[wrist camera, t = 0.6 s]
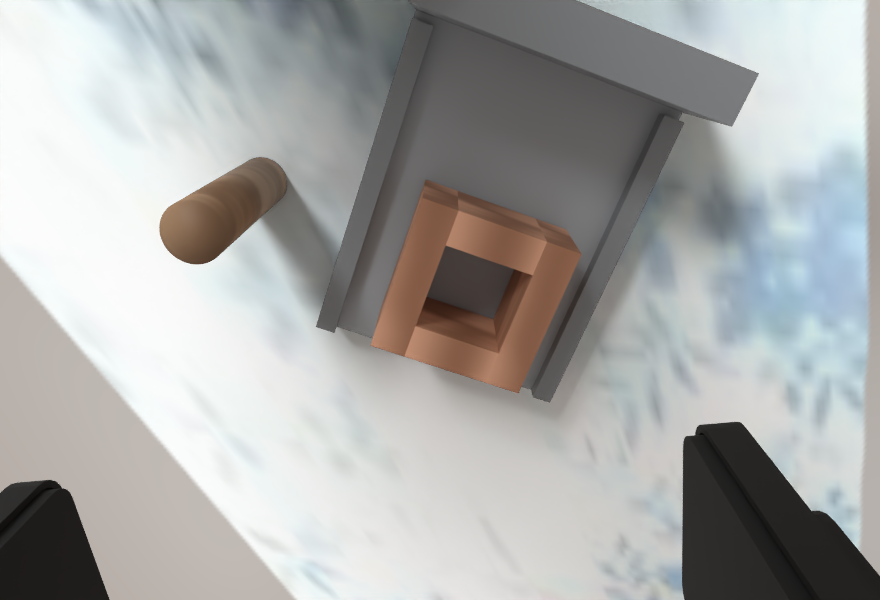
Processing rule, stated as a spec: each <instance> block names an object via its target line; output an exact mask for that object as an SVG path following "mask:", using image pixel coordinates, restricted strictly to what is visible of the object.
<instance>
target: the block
mask: <svg viewBox="0 0 880 600" xmlns="http://www.w3.org/2000/svg"><path fill="white" fill-rule="evenodd" d="M445 246H449V247H452V248H455V249H458V250H460V251H463V252H466V253H469V254H472V255H475V256H478V257H481V258H484V259H487V260H489V261H492V262H495V263H498V264H501V265H504V266H507V267H510V268H513V269H514V271H513V273H512V276H511V278H510V280H509V283H508V285H507V288H506V290H505V292H504V295H503V297H502V300H501V302H500V304H499V307H498V309H497V311H496V314H495V316H494V319H491V318H488V317H485V316H482V315H479V314H476V313H474V312H471V311H468V310H465V309H462V308H459V307H456V306H453V305H450V304H447V303H444V302H441V301H438V300H435V299H432V298H429V297H427V294H428V291H429V289H430V286H431V283H432V281H433V278H434V275H435V273H436V270H437V267H438V265H439V262H440V259H441V257H442V254H443V251H444V249H445ZM581 255H582V254H581V252H580V251H579V249H578V247H577V246H576V244H575V243H574V241H573V240H572V238H571V236H570V235H569V233H568V232H567V230H566V229H563V228H561V227H558V226H555V225H552V224H549V223H547V222H544V221H541V220H538V219H535V218H533V217H530V216H527V215H524V214H521V213H519V212H516V211H513V210H510V209H507V208H505V207H502V206H499V205H496V204H493V203H491V202H488V201H485V200H482V199H479V198H477V197H474V196H471V195H468V194H465V193H463V192H460V191H457V190H454V189H451V188H448V187H446V186H443V185H440V184H437V183H434V182H432V181H429V180H425V183H424V186H423V189H422V191H421V194H420V197H419V200H418V203H417V206H416V209H415V212H414V214H413V217H412V220H411V223H410V226H409V229H408V232H407V235H406V237H405V240H404V243H403V246H402V249H401V252H400V255H399V257H398V260H397V263H396V266H395V269H394V272H393V275H392V278H391V280H390V283H389V286H388V289H387V292H386V295H385V298H384V301H383V303H382V306H381V309H380V312H379V316H378V320H377V324H376V327H375V331H374V335H373V339H372V343H371V346H373V347H377V348H380V349H383V350H386V351H389V352H392V353H395V354H398V355H401V356H404V357H407V358H411V359H414V360H417V361H420V362H423V363H426V364H429V365H432V366H435V367H438V368H441V369H445V370H448V371H451V372H454V373H457V374H460V375H463V376H466V377H469V378H472V379H475V380H479V381H482V382H485V383H488V384H491V385H494V386H497V387H500V388H503V389H506V390H510V391H513V392H516V393H519V391H520V388H521V386H522V384H523V382H524V380H525V377H526V375H527V373H528V371H529V369H530V366H531V364H532V362H533V360H534V358H535V355H536V353H537V351H538V349H539V347H540V345H541V342H542V340H543V338H544V336H545V334H546V331H547V329H548V327H549V325H550V323H551V320H552V318H553V316H554V314H555V312H556V309H557V307H558V305H559V303H560V301H561V298H562V296H563V294H564V292H565V290H566V288H567V285H568V283H569V281H570V279H571V277H572V274H573V272H574V270H575V268H576V266H577V263H578V261H579V259H580V257H581Z"/></svg>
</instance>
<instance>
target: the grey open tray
mask: <svg viewBox="0 0 880 600" xmlns="http://www.w3.org/2000/svg"><path fill="white" fill-rule="evenodd" d="M409 2H410V3H411V5H412V6H413V7H414V8H415V9H416V11H415V15H414V18H412V20H411V24H410V27H409V30H408V33H407V36H406V40H405V43H404V46H403V49H402V52H401V56H400V59H399V62H398V65H397V68H396V72H395V75H394V78H393V81H392V84H391V88H390V91H389V94H388V97H387V101H386V104H385V107H384V110H383V113H382V117H381V120H380V123H379V126H378V129H377V133H376V136H375V139H374V142H373V145H372V149H371V152H370V155H369V158H368V161H367V165H366V168H365V171H364V174H363V178H362V181H361V184H360V187H359V190H358V194H357V197H356V200H355V203H354V206H353V210H352V213H351V216H350V219H349V222H348V226H347V229H346V232H345V235H344V238H343V242H342V245H341V248H340V251H339V255H338V258H337V261H336V264H335V267H334V271H333V274H332V277H331V280H330V283H329V287H328V290H327V293H326V296H325V299H324V303H323V306H322V309H321V312H320V315H319V319H318V322H317V325H316V327H318V328H321V329H324V330H327V331H330V332H333V333H334V332H335V329H336V327H340V328H343V329H346V330H349V331H352V332H355V333H359V334H362V335H365V336H368V337H371V338H373V335H374V331H375V327H376V324H377V320H378V316H379V312H380V309H381V306H382V303H383V301H384V298H385V295H386V292H387V289H388V286H389V283H390V280H391V278H392V275H393V272H394V269H395V266H396V263H397V260H398V257H399V255H400V252H401V249H402V246H403V243H404V240H405V237H406V235H407V232H408V229H409V226H410V223H411V220H412V217H413V214H414V212H415V209H416V206H417V203H418V200H419V197H420V194H421V191H422V189H423V186H424V183H425V180H429V181H432V182H434V183H437V184H440V185H443V186H446V187H448V188H451V189H454V190H457V191H460V192H463V193H465V194H468V195H471V196H474V197H477V198H479V199H482V200H485V201H488V202H491V203H493V204H496V205H499V206H502V207H505V208H507V209H510V210H513V211H516V212H519V213H521V214H524V215H527V216H530V217H533V218H535V219H538V220H541V221H544V222H547V223H549V224H552V225H555V226H558V227H561V228H563V229H566V230H567V232H568V233H569V235H570V236H571V238H572V240H573V241H574V243H575V244H576V246H577V247H578V249H579V251H580V252H581V254H582V255H581V257H580V259H579V261H578V263H577V266H576V268H575V270H574V272H573V274H572V277H571V279H570V281H569V283H568V285H567V288H566V290H565V292H564V294H563V296H562V298H561V301H560V303H559V305H558V307H557V309H556V312H555V314H554V316H553V318H552V320H551V323H550V325H549V327H548V329H547V331H546V334H545V336H544V338H543V340H542V342H541V345H540V347H539V349H538V351H537V353H536V355H535V358H534V360H533V362H532V364H531V366H530V369H529V371H528V373H527V375H526V377H525V380H524V382H523V384H522V387H525V388H528V389H531V391H532V395H533V397H534V398H537V399H540V400H543V401H547V402H550V401H551V399H552V397H553V395H554V393H555V391H556V389H557V387H558V385H559V383H560V380H561V378H562V376H563V374H564V372H565V370H566V368H567V366H568V364H569V362H570V360H571V357H572V355H573V353H574V351H575V349H576V347H577V345H578V343H579V341H580V339H581V337H582V335H583V332H584V330H585V328H586V326H587V324H588V322H589V320H590V318H591V316H592V314H593V312H594V310H595V307H596V305H597V303H598V301H599V299H600V297H601V295H602V293H603V291H604V289H605V287H606V285H607V282H608V280H609V278H610V276H611V274H612V272H613V270H614V268H615V266H616V264H617V262H618V259H619V257H620V255H621V253H622V251H623V249H624V247H625V245H626V243H627V241H628V239H629V237H630V234H631V232H632V230H633V228H634V226H635V224H636V222H637V220H638V218H639V216H640V214H641V212H642V209H643V207H644V205H645V203H646V201H647V199H648V197H649V195H650V193H651V191H652V189H653V186H654V184H655V182H656V180H657V178H658V176H659V174H660V172H661V170H662V168H663V166H664V164H665V161H666V159H667V157H668V155H669V153H670V151H671V149H672V147H673V145H674V143H675V141H676V139H677V136H678V134H679V132H680V130H681V128H682V126H683V124H684V122H681V121H678V120H679V118H680V116H681V114H682V112H683V113H687V114H690V115H694V116H697V117H700V118H704V119H707V120H711V121H714V122H718V123H721V124H725V125H728V126H731V127H732V126H733V124H734V122H735V120H736V118H737V116H738V114H739V112H740V110H741V108H742V106H743V104H744V102H745V100H746V98H747V96H748V94H749V92H750V90H751V88H752V86H753V84H754V82H755V80H756V78H757V76H758V74H759V73H756V72H754V71H751V70H749V69H746V68H744V67H741V66H739V65H736V64H734V63H731V62H729V61H726V60H724V59H721V58H719V57H716V56H714V55H711V54H709V53H706V52H704V51H701V50H699V49H696V48H694V47H691V46H689V45H686V44H684V43H681V42H679V41H676V40H674V39H671V38H669V37H666V36H664V35H661V34H659V33H656V32H654V31H651V30H649V29H646V28H644V27H641V26H639V25H636V24H634V23H631V22H629V21H626V20H624V19H621V18H619V17H616V16H614V15H611V14H609V13H606V12H604V11H601V10H599V9H596V8H594V7H591V6H589V5H586V4H584V3H581V2H579V1H576V0H409ZM513 271H514V269H513V268H510V267H507V266H504V265H501V264H498V263H495V262H492V261H489V260H487V259H484V258H481V257H478V256H475V255H472V254H469V253H466V252H463V251H460V250H458V249H455V248H452V247H449V246H445V249H444V251H443V254H442V257H441V259H440V262H439V265H438V267H437V270H436V273H435V275H434V278H433V281H432V283H431V286H430V289H429V291H428V294H427V297H429V298H432V299H435V300H438V301H441V302H444V303H447V304H450V305H453V306H456V307H459V308H462V309H465V310H468V311H471V312H474V313H476V314H479V315H482V316H485V317H488V318H491V319H494V316H495V314H496V311H497V309H498V307H499V304H500V302H501V300H502V297H503V295H504V292H505V290H506V288H507V285H508V283H509V280H510V278H511V276H512V273H513Z"/></svg>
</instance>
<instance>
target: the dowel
mask: <svg viewBox="0 0 880 600" xmlns="http://www.w3.org/2000/svg"><path fill="white" fill-rule="evenodd" d="M286 187H287V180H286V176H285V173H284V171H283V170H282V168H281V167H280V166H279V165H278V164H277V163H276V162H274V161H273V160H271V159H268V158H263V157H258V158H253V159H251V160H249V161H247V162H246V163H244V164H242V165H240V166H239V167H237V168H235V169H233V170H232V171H230V172H228V173H226V174H225V175H223V176H221V177H220V178H218V179H216V180H214V181H213V182H211V183H209V184H207V185H206V186H204V187H202V188H200V189H199V190H197V191H195V192H193V193H192V194H190V195H188V196H187V197H185V198H183V199H181V200H180V201H178V202H176V203H174V204H173V205H171V206H170V207H169V208H167V210H166V211H165V212H164V213H163V215H162V217H161V221H160V236H161V239H162V241H163V243H164V245H165V247H166V248H167V250H168V251H169V252H170V253H171V254H172V255H173V256H175V257H176V258H178V259H179V260H181V261H184V262H186V263H190V264H204V263H208V262H210V261H212V260H214V259H215V258H216V257H218V256H219V255H220V254H221V253H222V252H223V251H224V250H225V249H226V248H227V247H229V246H230V245H231V244H232V243H233V242H234V241H235V240H236V239H237V238H238V237H240V236H241V235H242V234H243V233H244V232H245V231H246V230H247V229H248V228H249V227H250V226H252V225H253V224H254V223H255V222H256V221H257V220H258V219H259V218H260V217H261V216H263V215H264V214H265V213H266V212H267V211H268V210H269V209H270V208H271V207H272V206H273V205H275V204H276V203H277V202H278V201H279V200H280V199H281V198H282V197H283V195H284V194H285V191H286Z"/></svg>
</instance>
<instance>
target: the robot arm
mask: <svg viewBox="0 0 880 600" xmlns="http://www.w3.org/2000/svg"><path fill="white" fill-rule="evenodd" d="M682 587H683V594H684V599H685V600H880V576H879V575H878V574H877V572H876V571H875V570H874V569H873V567H872V566H871V565H870V564H869V562H868V561H867V560H866V559H865V558H864V556H863V555H862V554H861V553H860V552H859V550H858V549H857V548H856V547H855V545H854V544H853V543H852V542H851V541H850V539H849V538H848V537H847V536H846V534H845V533H844V532H843V531H842V530H841V528H840V527H839V526H838V525H837V524H836V522H835V521H834V520H833V519H832V518H831V517H830V516H829V515H827V514H826V513H824V512H821V511H811V510H810V509H809V507H808V506H807V505H806V504H805V502H804V501H803V500H802V499H801V497H800V496H799V495H798V493H797V492H796V491H795V490H794V488H793V487H792V486H791V485H790V483H789V482H788V481H787V480H786V478H785V477H784V476H783V474H782V473H781V472H780V471H779V469H778V468H777V467H776V466H775V464H774V463H773V462H772V460H771V459H770V458H769V457H768V455H767V454H766V453H765V452H764V450H763V449H762V448H761V447H760V445H759V444H758V443H757V441H756V440H755V439H754V438H753V436H752V435H751V434H750V433H749V431H748V430H747V429H746V428H745V426H744V425H743V424H742V423H741V422H729V423H717V424H705V425H699V426H698V427H697V429H696V433H695V436H686V437H685V439H684V444H683V545H682ZM0 600H109V597H108V594H107V592H106V589H105V586H104V584H103V581H102V578H101V575H100V572H99V570H98V567H97V564H96V562H95V559H94V556H93V553H92V550H91V548H90V545H89V542H88V539H87V537H86V534H85V531H84V528H83V525H82V523H81V520H80V517H79V514H78V512H77V509H76V506H75V503H74V501H73V498H72V496H71V494H70V492H69V491H67V490H66V489H62V488H61V486H60V485H59V484H58V483H57V482H56V481H52V480H44V481H32V482H20V483H14V484H11V485H9V486H8V487H7V488H5V489H4V490H3V491H2V492H1V493H0Z"/></svg>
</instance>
